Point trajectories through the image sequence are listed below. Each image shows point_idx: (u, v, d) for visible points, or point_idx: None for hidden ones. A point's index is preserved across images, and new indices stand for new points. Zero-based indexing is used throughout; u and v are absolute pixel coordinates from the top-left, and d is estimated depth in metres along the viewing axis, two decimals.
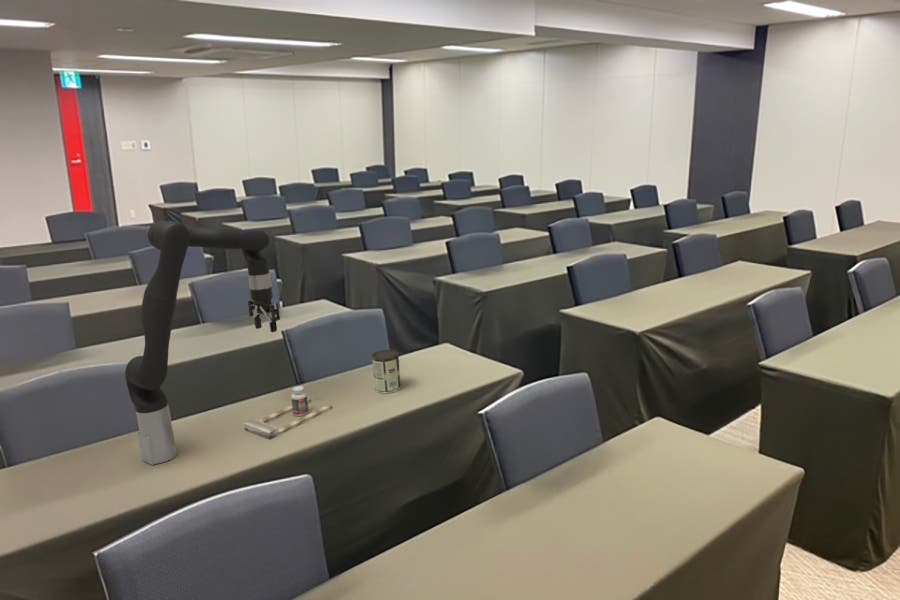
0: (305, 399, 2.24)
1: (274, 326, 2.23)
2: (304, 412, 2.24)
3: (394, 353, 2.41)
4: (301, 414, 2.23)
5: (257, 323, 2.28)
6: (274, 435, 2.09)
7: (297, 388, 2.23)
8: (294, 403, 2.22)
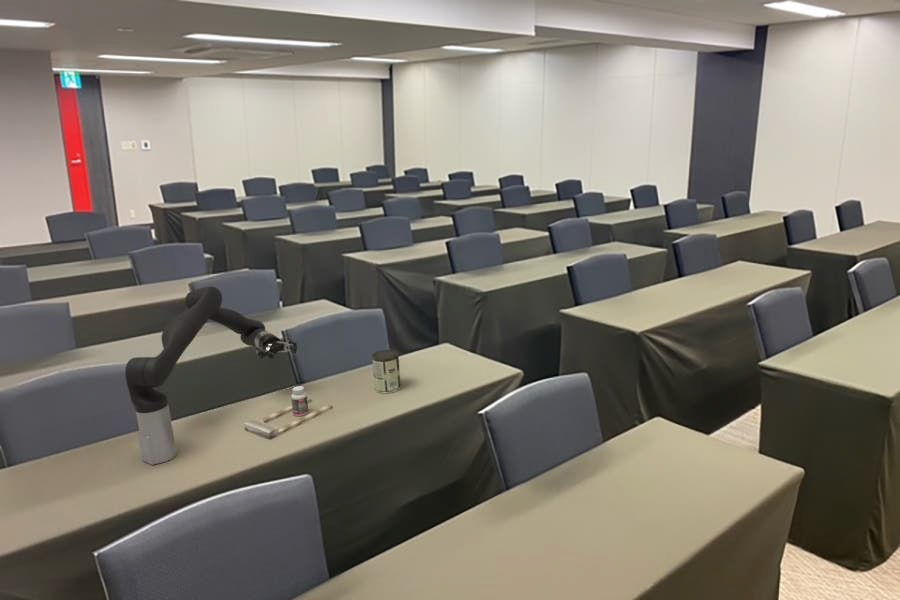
0: (305, 399, 2.24)
1: None
2: (304, 412, 2.24)
3: (394, 353, 2.41)
4: (301, 414, 2.23)
5: None
6: (274, 435, 2.09)
7: (297, 388, 2.23)
8: (294, 403, 2.22)
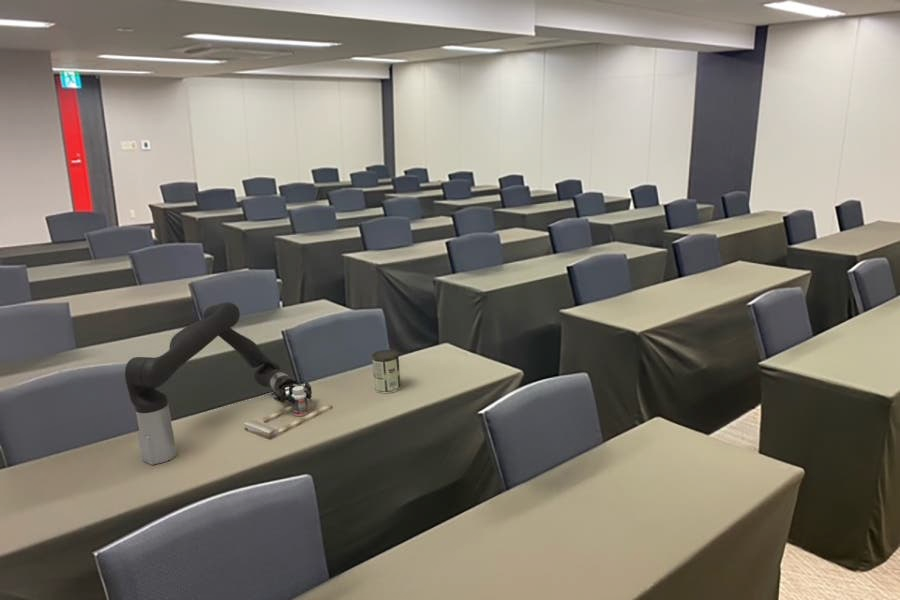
0: (305, 399, 2.24)
1: None
2: (304, 412, 2.24)
3: (394, 353, 2.41)
4: (301, 414, 2.23)
5: None
6: (274, 435, 2.09)
7: (297, 388, 2.23)
8: None
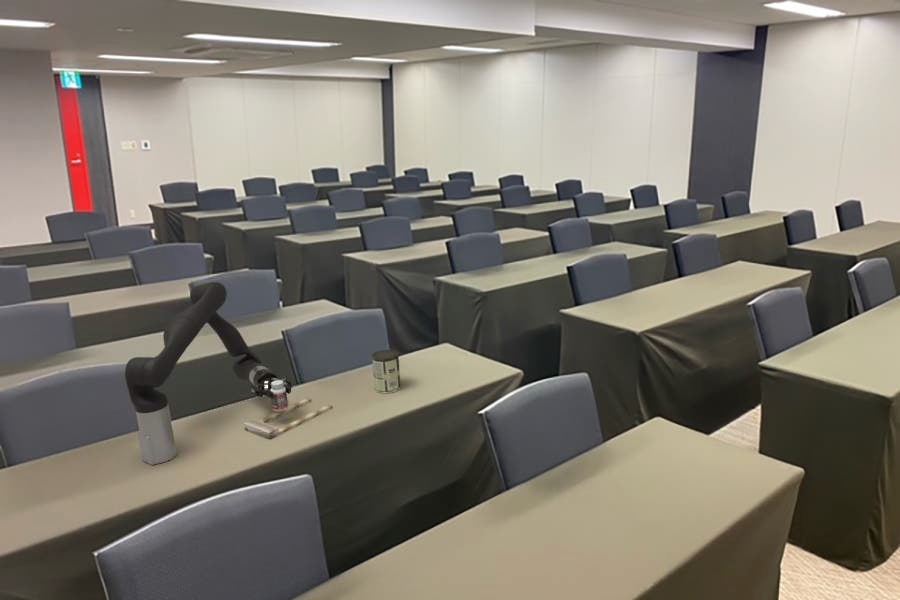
0: (284, 394, 2.16)
1: None
2: (284, 407, 2.16)
3: (394, 353, 2.41)
4: (280, 409, 2.16)
5: None
6: (274, 435, 2.09)
7: (276, 382, 2.15)
8: (273, 398, 2.15)
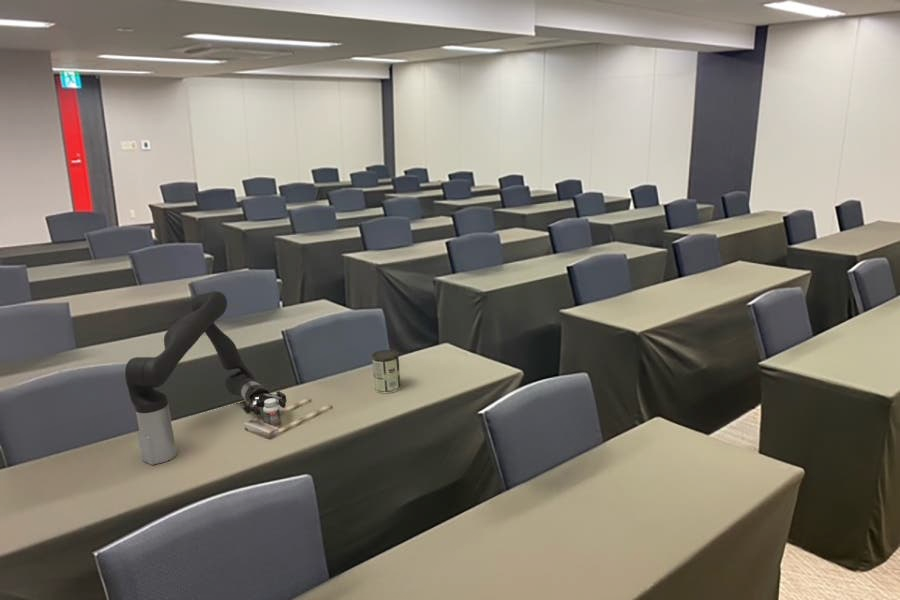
0: (277, 412, 2.14)
1: None
2: (276, 426, 2.15)
3: (394, 353, 2.41)
4: None
5: None
6: (274, 435, 2.09)
7: (269, 400, 2.14)
8: (266, 416, 2.13)
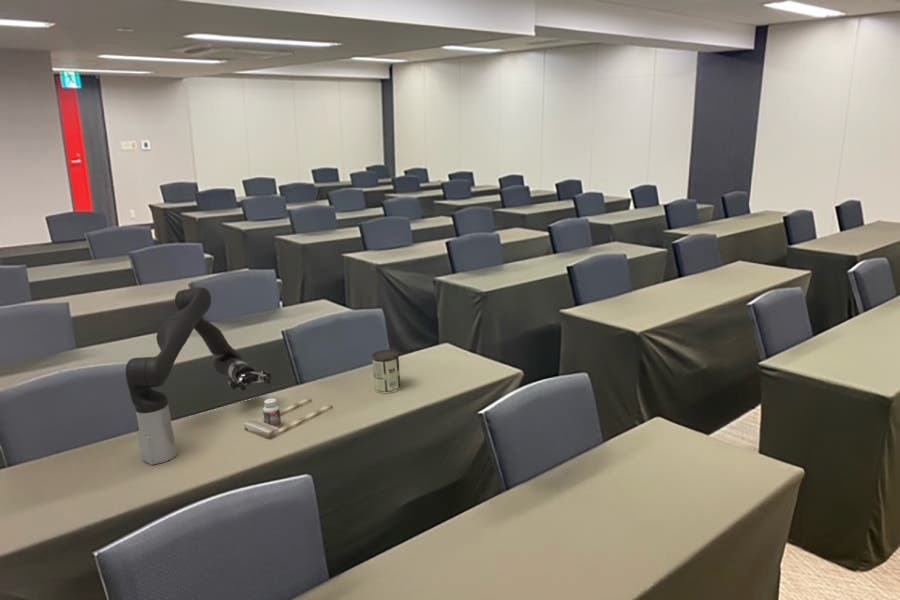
0: (277, 412, 2.14)
1: None
2: (277, 426, 2.15)
3: (394, 353, 2.41)
4: None
5: None
6: (274, 435, 2.09)
7: (269, 400, 2.14)
8: (266, 416, 2.13)
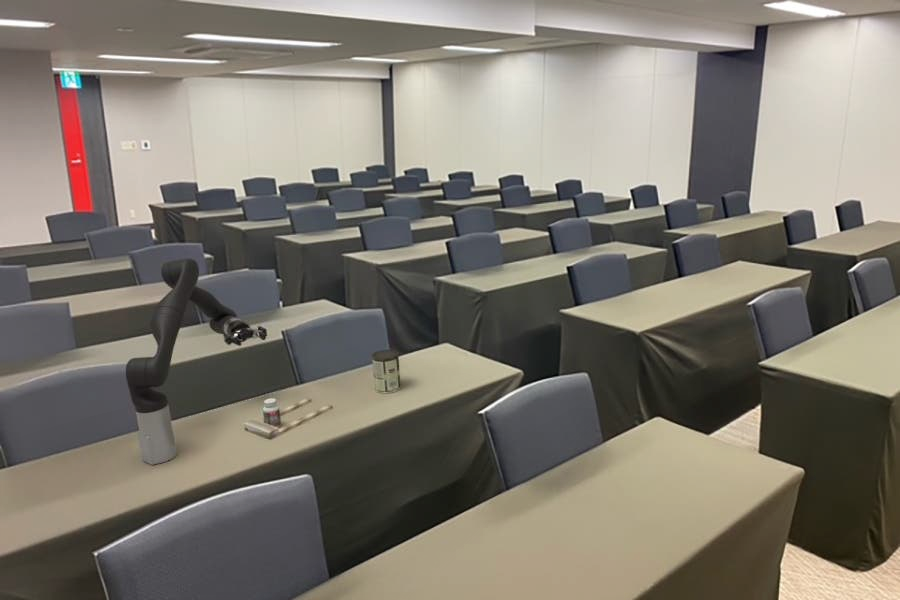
0: (277, 412, 2.14)
1: None
2: (277, 426, 2.15)
3: (394, 353, 2.41)
4: None
5: None
6: (274, 435, 2.09)
7: (269, 400, 2.14)
8: (266, 416, 2.13)
